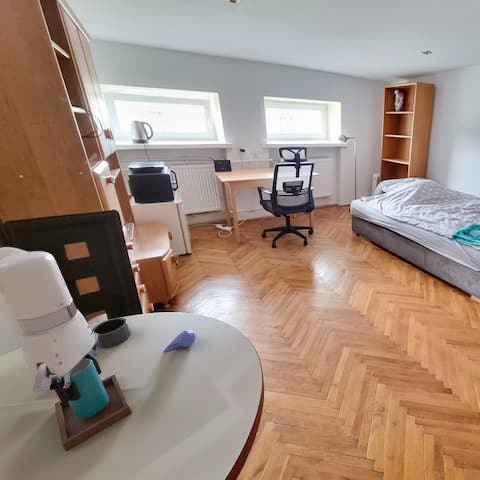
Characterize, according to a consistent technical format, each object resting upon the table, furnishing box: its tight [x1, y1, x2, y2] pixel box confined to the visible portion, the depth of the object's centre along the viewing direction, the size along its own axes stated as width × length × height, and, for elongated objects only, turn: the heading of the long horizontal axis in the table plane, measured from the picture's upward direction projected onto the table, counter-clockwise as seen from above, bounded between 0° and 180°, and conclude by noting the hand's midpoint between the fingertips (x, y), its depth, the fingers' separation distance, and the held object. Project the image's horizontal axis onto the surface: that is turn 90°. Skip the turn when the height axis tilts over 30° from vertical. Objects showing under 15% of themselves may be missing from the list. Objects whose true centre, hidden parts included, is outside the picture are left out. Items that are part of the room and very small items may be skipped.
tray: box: [54, 374, 133, 452], centre depth 63 cm, size 14×11×2 cm
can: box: [57, 358, 109, 419], centre depth 61 cm, size 6×6×11 cm
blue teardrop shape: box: [162, 329, 197, 353], centre depth 82 cm, size 8×6×6 cm
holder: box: [91, 317, 132, 349], centre depth 84 cm, size 8×8×5 cm
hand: (82, 386), depth 61 cm, fingers closed on can, 5 cm apart
